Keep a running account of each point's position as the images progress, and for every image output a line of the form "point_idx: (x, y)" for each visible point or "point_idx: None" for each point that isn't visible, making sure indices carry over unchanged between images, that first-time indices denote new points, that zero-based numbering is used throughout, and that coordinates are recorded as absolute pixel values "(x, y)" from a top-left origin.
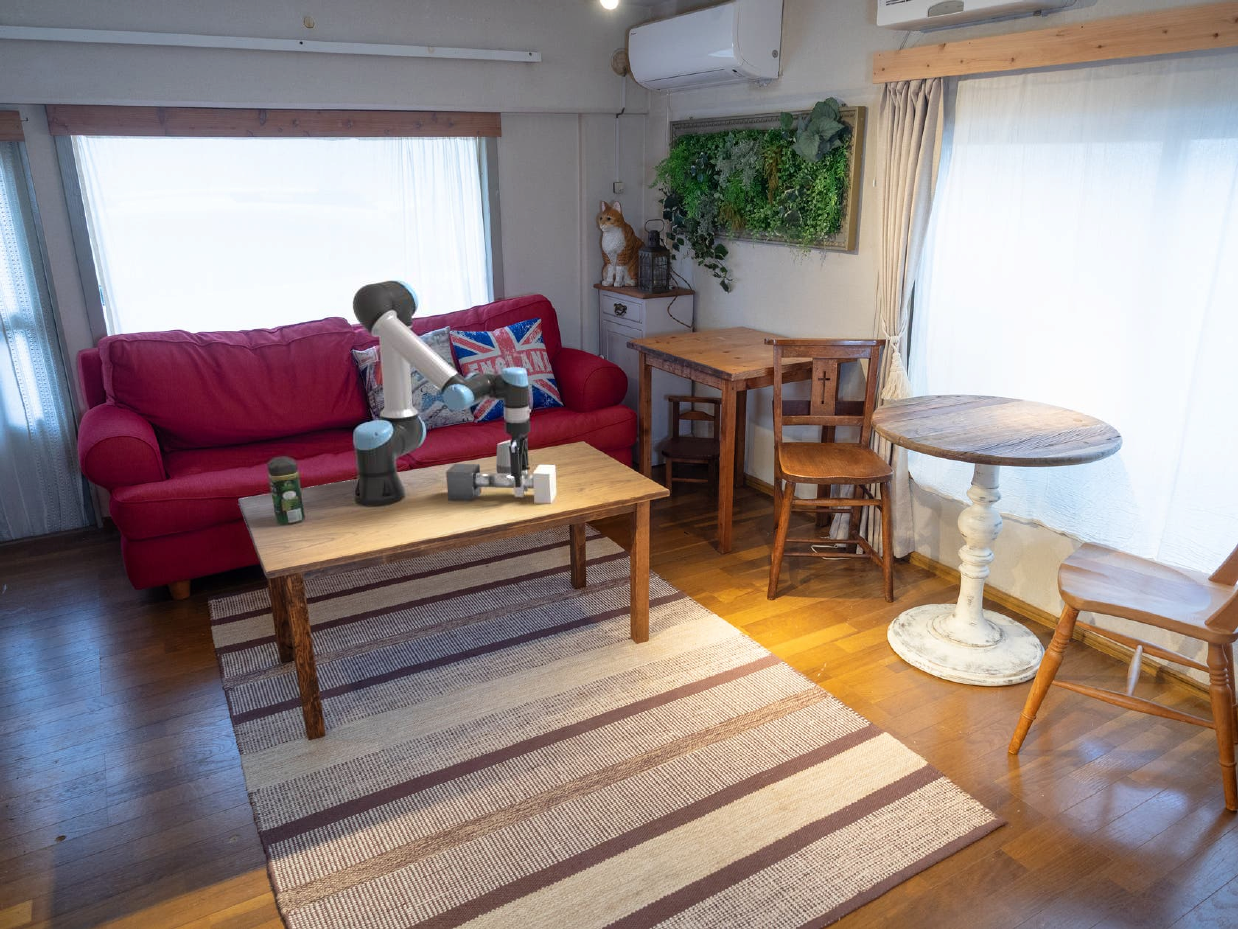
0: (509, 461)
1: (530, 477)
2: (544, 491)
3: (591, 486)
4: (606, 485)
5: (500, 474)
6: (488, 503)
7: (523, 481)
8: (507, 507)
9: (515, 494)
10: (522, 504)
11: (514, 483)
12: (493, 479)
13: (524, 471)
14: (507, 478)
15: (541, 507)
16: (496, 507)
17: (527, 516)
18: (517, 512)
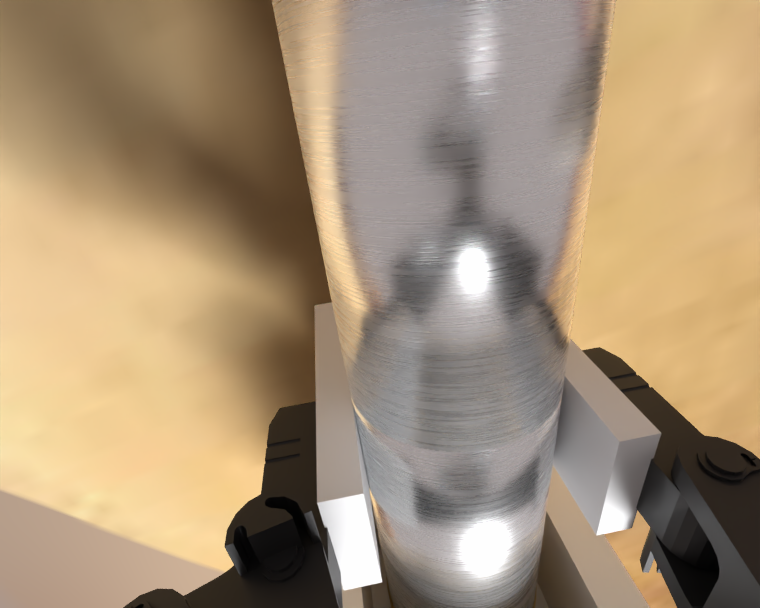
0: None
1: (422, 588)
2: None
3: (640, 548)
4: (645, 584)
5: (448, 175)
6: (141, 10)
7: (373, 500)
8: (132, 286)
9: (317, 325)
10: (260, 368)
11: (316, 412)
12: (285, 7)
13: (599, 515)
14: (361, 336)
15: (250, 492)
16: (70, 179)
17: (36, 493)
18: (67, 408)
